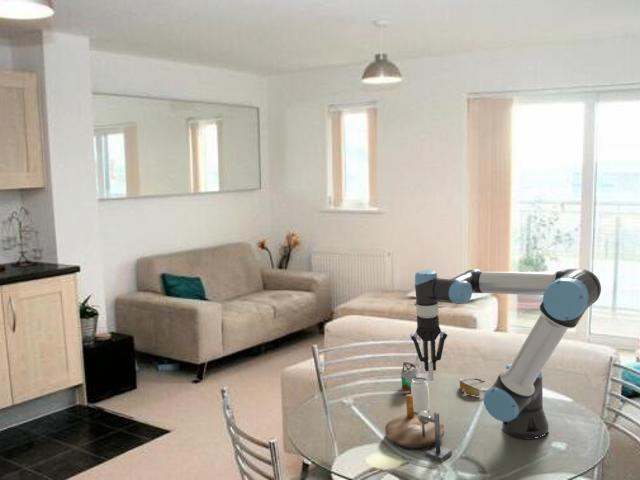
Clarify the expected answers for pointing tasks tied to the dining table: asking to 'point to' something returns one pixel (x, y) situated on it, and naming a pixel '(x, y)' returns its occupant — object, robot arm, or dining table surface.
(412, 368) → the food container
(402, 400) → the dining table surface
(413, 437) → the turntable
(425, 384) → the can
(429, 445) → the turntable base
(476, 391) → the sunglasses
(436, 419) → the dial indicator stand
